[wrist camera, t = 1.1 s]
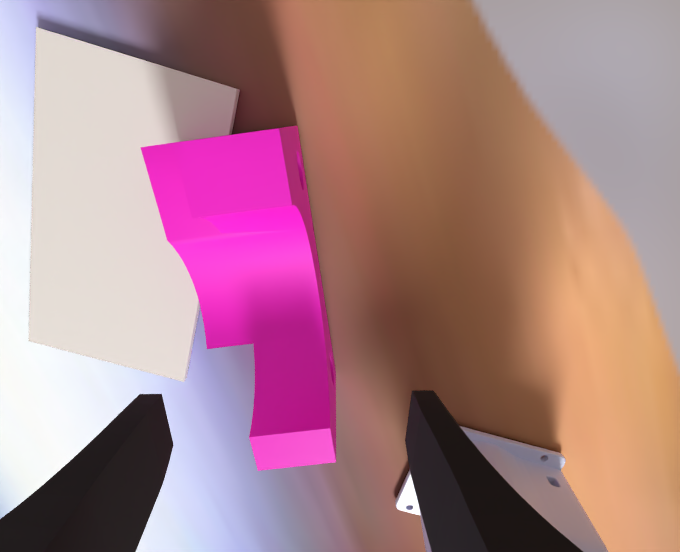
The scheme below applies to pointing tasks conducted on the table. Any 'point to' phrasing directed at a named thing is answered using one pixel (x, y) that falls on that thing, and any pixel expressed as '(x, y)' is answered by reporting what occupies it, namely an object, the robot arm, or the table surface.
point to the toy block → (256, 278)
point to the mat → (111, 204)
